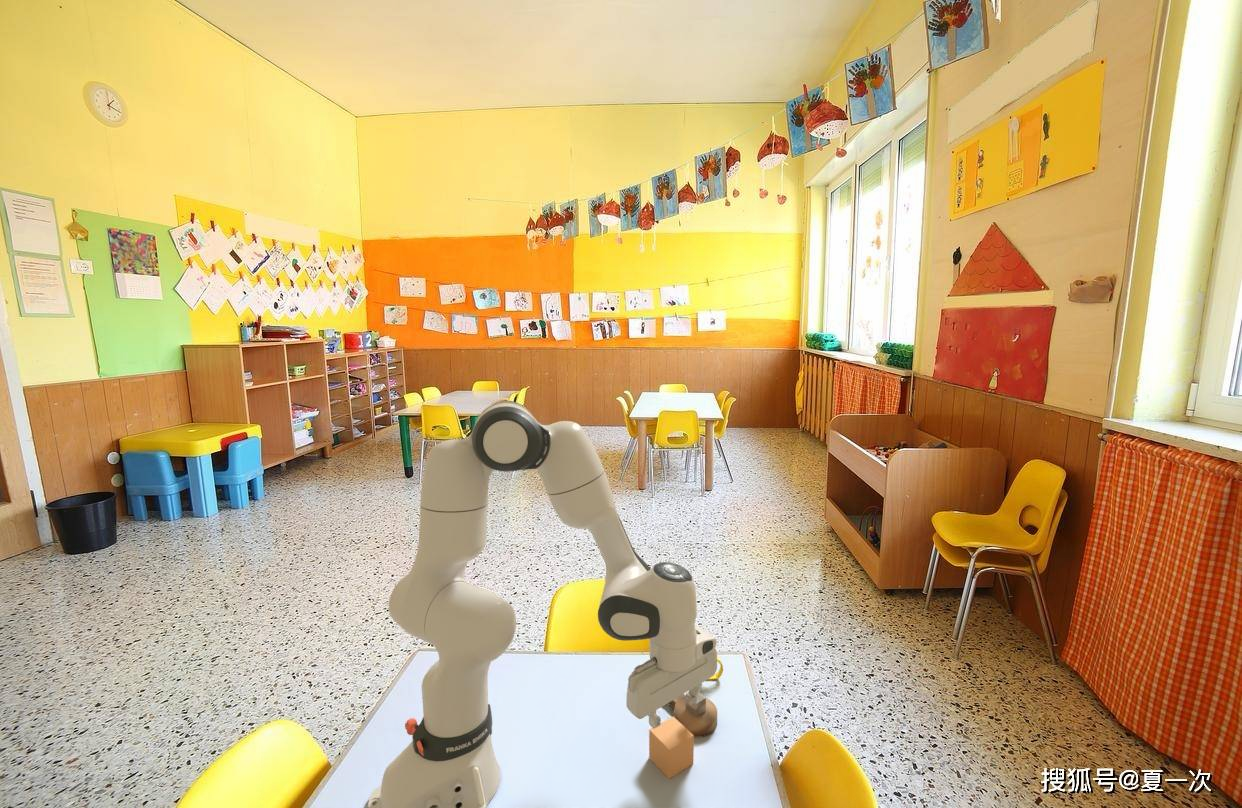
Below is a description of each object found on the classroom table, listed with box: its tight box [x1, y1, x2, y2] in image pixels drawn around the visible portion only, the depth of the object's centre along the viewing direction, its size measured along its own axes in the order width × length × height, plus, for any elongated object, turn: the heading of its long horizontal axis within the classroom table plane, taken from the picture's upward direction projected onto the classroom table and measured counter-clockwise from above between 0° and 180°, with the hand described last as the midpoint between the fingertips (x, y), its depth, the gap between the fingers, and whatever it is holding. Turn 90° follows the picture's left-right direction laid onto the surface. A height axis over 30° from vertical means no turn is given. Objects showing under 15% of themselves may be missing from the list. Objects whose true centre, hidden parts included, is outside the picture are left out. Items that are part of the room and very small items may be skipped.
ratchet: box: [667, 692, 718, 738], centre depth 114 cm, size 9×20×6 cm, turn 35°
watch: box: [706, 656, 724, 681], centre depth 123 cm, size 6×3×6 cm, turn 92°
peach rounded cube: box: [648, 716, 695, 780], centre depth 100 cm, size 6×6×6 cm
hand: (673, 713), depth 100 cm, fingers open, 8 cm apart
